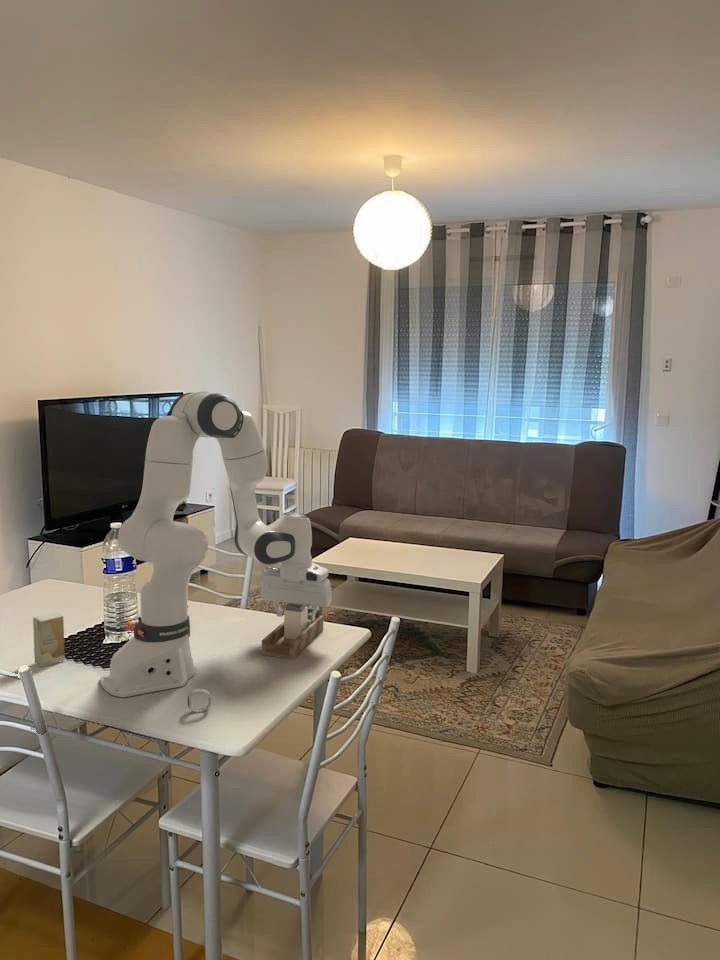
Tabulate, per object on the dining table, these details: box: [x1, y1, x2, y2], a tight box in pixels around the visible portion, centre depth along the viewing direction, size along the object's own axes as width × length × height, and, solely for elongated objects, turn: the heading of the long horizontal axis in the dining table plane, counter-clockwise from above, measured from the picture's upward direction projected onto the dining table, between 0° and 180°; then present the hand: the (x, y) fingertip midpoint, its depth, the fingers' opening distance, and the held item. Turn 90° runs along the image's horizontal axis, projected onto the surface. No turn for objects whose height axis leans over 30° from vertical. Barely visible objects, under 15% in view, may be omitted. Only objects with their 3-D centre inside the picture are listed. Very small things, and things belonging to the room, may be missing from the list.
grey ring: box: [187, 688, 212, 714], centre depth 159 cm, size 3×5×5 cm, turn 108°
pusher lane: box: [261, 607, 324, 660], centre depth 199 cm, size 23×9×6 cm, turn 163°
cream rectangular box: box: [283, 603, 309, 639], centre depth 201 cm, size 5×5×9 cm
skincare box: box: [32, 611, 66, 668], centre depth 183 cm, size 6×4×12 cm
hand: (295, 618), depth 200 cm, fingers open, 8 cm apart
